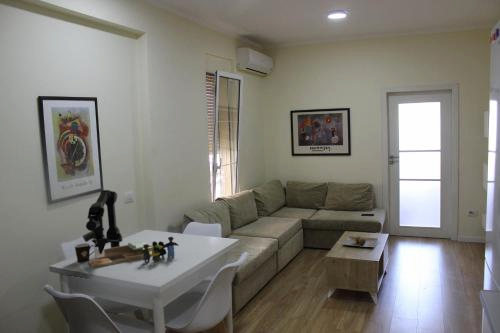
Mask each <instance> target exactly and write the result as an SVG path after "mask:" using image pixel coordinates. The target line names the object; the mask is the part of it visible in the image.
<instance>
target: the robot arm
mask: <svg viewBox="0 0 500 333" xmlns="http://www.w3.org/2000/svg"><path fill="white" fill-rule="evenodd" d="M117 200H118V193H117V192H116V191H113V190H110V189H104V190H103V189H102V190H100V194H99V196H98V197H97V200H96V201H95V202H94V203H92V204H91V205H90V207H89V209H88V214H87V220H88V221H87V222H86V225H85V228H86V230H88V231H89V232H87V233H85V234H83V235H82V239H83V240H84V242H85V243H87V242H90V240H91V242H93V243H94V245H95V246H96V247H98V249H99V253H100V254H102V252H103V249H105V247H106V244H109V243H110V248H113V247H119V246H121V244H120V243H121V242H123V236H122V234H121V232H120V231H121V230H120V229H119V227H118V226H117V217H116V216H117V215H116V207H115V205H116V202H118V201H117ZM105 206H106V209H105V208H104V207H105ZM105 210H107V220H108V229H107V231H106V234H104V231H105V228H104V223H103V218H104V214H105ZM105 235H106V236H105ZM95 246H94V247H95Z"/></svg>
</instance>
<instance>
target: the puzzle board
mask: <svg viewBox="0 0 500 333" xmlns="http://www.w3.org/2000/svg"><path fill="white" fill-rule="evenodd" d="M137 243H138V242H135V243H134V244H137ZM140 243H142V242H140ZM143 249H144V248H141V249H136V250H134V249H132V248H130V247H129V246H128V244H125V245H120V246H119V247H113V248H111V247H109V248H104V252H105V257H100V258H94V259H89V261H88V264H89V265H90V266H91V267H92V268H93V269H98V268H102V267H107V266H111V265H117V264H121V263H127V262H132V261H137V260H141V259H144V253H140V251H142V250H143ZM149 254H150V258H152V257H153V256H151V255H152V253H151V252H149Z"/></svg>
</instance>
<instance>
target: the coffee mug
mask: <svg viewBox="0 0 500 333" xmlns="http://www.w3.org/2000/svg"><path fill="white" fill-rule="evenodd" d="M92 247H96V246H95V244H93V245H91V244H90V243H87V242H85V243H78V244H75V245H74V250H75V255H76V261H77V262H78V263H86V262H89V260H90V257H91V256H92V255H93V254H95V251H94V250H93V251H92V252H91V253H90V250H91V248H92Z"/></svg>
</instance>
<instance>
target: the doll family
mask: <svg viewBox="0 0 500 333" xmlns="http://www.w3.org/2000/svg"><path fill="white" fill-rule="evenodd" d="M167 240H168V242H167V243H164V242H163V241H162V240H160V241H158V242H157V241H152V244H151V245H152V247H149V245H148V244H149V243H148V244H145V245H143V247H144V248H143V250H142V251H140V253H144V258H143V262H144V263H147V262H150V261H152V262H153V263H155V264H157V262H160V260H161V259H162V260H165V255H167V257H166V259H167V260H168V259H169V260H171V259H175V247H176V246H177V247H178V246H179V244H178V243H177V242H174V237H173V236H169V237H168V238H167ZM166 248H167V250H166ZM149 253H150V254H151V256H152V257H150V254H149ZM151 258H152V259H151Z"/></svg>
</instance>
